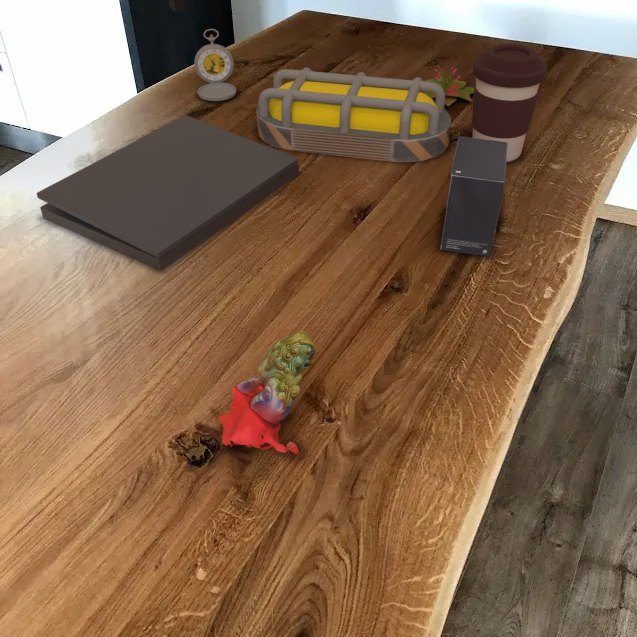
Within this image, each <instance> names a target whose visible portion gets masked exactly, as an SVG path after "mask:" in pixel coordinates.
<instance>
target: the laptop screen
mask: <svg viewBox="0 0 637 637" xmlns="http://www.w3.org/2000/svg"><path fill="white" fill-rule="evenodd" d="M296 164H299V158H298V157H296V156H293V155H290V154H288V153H285V152H283V151H281V150H277V149H275V148H272V147H270V146H267V145H265V144H262V143H260V142H257V141H254V140H251V139H249V138H246V137H244V136H241V135H239V134H236V133H234V132H231V131H228V130H225V129H223V128H221V127H218V126H215V125H213V124H211V123H208V122H205V121H202V120H199V119H197V118H195V117H193V116H189V115H187V114H184V115H182V116H180V117H179V118H176V119H175V120H173V121H171V122H169V123H167V124H165V125H163V126H161V127H159V128H158V129H156V130H154V131H152V132H150V133H148V134H146V135H144V136H142V137H141V138H139V139H137V140H134V141H133V142H131V143H129V144H127V145H125V146H123V147H121V148H120V149H118V150H115V151H114V152H111V153H110V154H108V155H106V156H104V157H102V158H100V159H99V160H97V161H95V162H93V163H91V164H89V165H87V166H85V167H83V168H81V169H80V170H77V171H76V172H74V173H72V174H70V175H68V176H66V177H64V178H62V179H60V180H58V181H56V182H55V183H52V184H51V185H48V186H47V187H45V188H43V189H41V190H39V191H37V192H36V196H37V199H39V200H40V201H43V202H45V203H46V204H47V203H49V204H51V205H53V206H55V207H57V208H59V209H61V210H63V211H65V212H67V213H69V214H71V215H73V216H75V217H77V218H79V219H81V220H83V221H85V222H87V223H89V224H91V225H93V226H95V227H97V228H99V229H101V230H103V231H105V232H107V233H109V234H111V235H113V236H115V237H117V238H119V239H121V240H123V241H125V242H127V243H129V244H131V245H133V246H135V247H137V248H139V249H141V250H143V251H145V252H147V253H149V254H151V255H153V256H155V257H157V258H160V257H162V256H163V255H164V254H166V253H167V252H169V251H170V250H172V249H173V248H175V247H176V246H178V245H179V244H181V243H182V242H183V241H185V240H186V239H188V238H189V237H191V236H192V235H194V234H195V233H197V232H198V231H200V230H201V229H202V228H204V227H205V226H207V225H208V224H210V223H211V222H213V221H214V220H216V219H217V218H219V217H220V216H221V215H223V214H224V213H226V212H227V211H229V210H230V209H232V208H233V207H235V206H236V205H238V204H239V203H240V202H242V201H243V200H245V199H246V198H248V197H249V196H251V195H252V194H254V193H255V192H257V191H258V190H259V189H261V188H262V187H264V186H265V185H267V184H268V183H270V182H271V181H273V180H274V179H276V178H277V177H278V176H280V175H281V174H283V173H284V172H286V171H287V170H289V169H290V168H292V167H293V166H295V165H296Z"/></svg>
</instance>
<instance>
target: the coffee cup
mask: <svg viewBox="0 0 637 637" xmlns="http://www.w3.org/2000/svg"><path fill="white" fill-rule="evenodd" d="M547 71H548V65H547V63H546V62H545V60H543V59H541V58H540V57H539V55H538V52H537V51H536V50H535V49H533V48H531V47H530V46H527V45H522V44H516V43H500V44H495V45H492V46H490V47H488V48H487V50H486V51H485V53H482V54H480V55H478V56H476V58H475V59H474V60H473V64H472V75H473V76H474V78H475V84H474V85H473V88H474V93H473V98H472V113H471V114H472V115H471V126H472V134H471V138H477V139H485V140H493V141H501V142H507V143H508V146H507V161H506V163H510V162H513V161H515V160H517V159H518V158H519V157H521V154H522V152H523V147H524V144H525V140H526V137H527V133H528V132H529V129H530V127H531V123H532V120H533V116H534V112H535V109H536V105H537V101H538V98H539V92H540V91H539V86H540V84H541V83H543V82H544V81H545V80H546V76H547Z"/></svg>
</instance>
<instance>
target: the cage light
mask: <svg viewBox="0 0 637 637" xmlns="http://www.w3.org/2000/svg"><path fill="white" fill-rule="evenodd" d="M284 80H291V81H289V82H286V83H284V84H283V82H284ZM272 86H273V87H268V88H265V89H264V90H263V91H262V92H261V93H260V94H259V97H258V103H257V105H256V108H255V109H256V110H255V113H256V127H257V134H258V136H259V138H260V139H261V140H262V141H263V142H264V143H265V144H267V145H269V146H272V147H274V148H277V149H281V150H287V151H292V152H301V153H309V154H310V153H311V154H319V155H320V154H321V155H329V156H337V157H346V158H354V159H355V158H356V159H366V160H374V161H381V162H382V161H383V162H392V163H415V162H423V161H427V160H430V159H433V158H436V157H438V156H440V155H441V154H443V153H444V152H445V151H446V150H447V148H448V146H449V145H450V136H451V128H452V119H451V118H452V117H451V115H450V114H449V113H448V111H447V110H446V109H445V106H446V104H445V92H444V89H443V88H442V87H441V86H440V85H439V84H437V83H434V82H425V80H423V79H422V78H421V77H419V76H415V77H414V78H413V79H401V78H390V77H381V76H380V77H379V76H368V75H367V74H366V73H365V72H362V71H359V72H358V73H357V74H346V73H345V74H344V73H335V72H325V71H324V72H322V71H313V70H312V69H311V68H310V67H307V66H306V67H304V68H302V69H291V68H290V69H289V68H283V69H280V70H278V71H277V72H276V73H275V74H274V76H273V79H272ZM408 90H409V91H408ZM422 92H432V93H434V94H435V96H436V97H434V98H435V100H434V98H430V97H429V96H427V95H426V94H424V93H422Z"/></svg>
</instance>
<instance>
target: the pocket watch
mask: <svg viewBox="0 0 637 637" xmlns="http://www.w3.org/2000/svg"><path fill="white" fill-rule="evenodd" d="M209 31H214V32H215V33H216V36H214V35H213V34H209V36H208V37H207V36H206V34H207V32H209ZM219 36H220V32H219V31H218V30H217V29H215V28H209V29H206V30H204V32H203V37H204V39H206V40H207V41H209V42H210V43H209V44H206V45H203V46H202V47H201V48H199V49H198V51H197V52H196V54H195V57H194V61H193V62H194V63H193V64H194V70H195V72H196V74H197V76H198V77H199V78H201V79H202V81H204V82H207V83H206V84H203V85H202V86H199V88H198V89H197V96H198V97H199V98H200V99H201V100H204V101H208V102H221V101H227V100H230V99H232V98H234V97H235V96H236V94H237V91H238V90H237V88H236V86H235V85H234V84H232V83H228V82H225V81H227V80H228V78H229V77H230V76H231V75H232V73H233V71H234V67H235V62H234V58H233V55H232V53H231V52H230V51H229V49H227V47H225V46H223V45H221V44H218V43H215V42H214V41H216V39H217V38H218V37H219ZM222 65H224V66H222ZM212 71H213V72H212Z"/></svg>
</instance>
